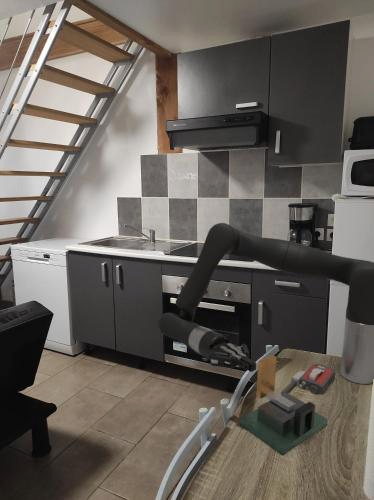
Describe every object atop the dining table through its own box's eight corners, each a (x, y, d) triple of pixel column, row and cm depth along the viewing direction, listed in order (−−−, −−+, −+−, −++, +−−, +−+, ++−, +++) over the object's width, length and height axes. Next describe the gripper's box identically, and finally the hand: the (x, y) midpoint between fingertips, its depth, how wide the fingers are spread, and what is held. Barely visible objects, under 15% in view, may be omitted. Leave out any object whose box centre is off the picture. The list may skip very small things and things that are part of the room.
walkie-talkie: (307, 368, 111) (278, 397, 95) (308, 354, 110) (279, 381, 95) (337, 378, 105) (311, 410, 90) (338, 363, 105) (312, 394, 89)
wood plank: (270, 389, 89) (272, 355, 88) (298, 405, 83) (301, 368, 81) (256, 396, 86) (258, 360, 85) (284, 413, 80) (287, 375, 78)
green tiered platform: (284, 400, 93) (285, 374, 92) (326, 424, 84) (329, 396, 83) (239, 424, 84) (241, 395, 82) (282, 454, 74) (284, 423, 73)
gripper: (189, 336, 98) (235, 360, 85) (225, 325, 106) (272, 346, 93) (189, 362, 100) (234, 390, 86) (224, 349, 108) (271, 373, 94)
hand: (254, 367), depth 90 cm, fingers closed
